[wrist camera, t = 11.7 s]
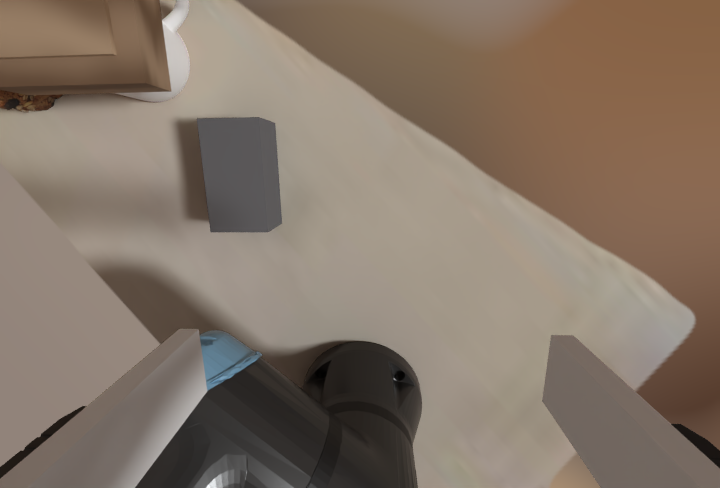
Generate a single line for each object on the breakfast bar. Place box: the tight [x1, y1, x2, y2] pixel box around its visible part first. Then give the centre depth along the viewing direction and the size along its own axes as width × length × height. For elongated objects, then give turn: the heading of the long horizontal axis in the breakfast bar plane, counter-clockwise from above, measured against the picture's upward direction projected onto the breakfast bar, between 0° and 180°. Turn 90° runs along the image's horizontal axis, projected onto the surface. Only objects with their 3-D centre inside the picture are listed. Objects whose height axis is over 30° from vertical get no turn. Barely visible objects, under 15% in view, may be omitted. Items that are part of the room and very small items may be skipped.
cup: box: [116, 0, 190, 102], centre depth 30 cm, size 8×12×10 cm
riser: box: [197, 117, 282, 232], centre depth 36 cm, size 11×6×5 cm, turn 1°
